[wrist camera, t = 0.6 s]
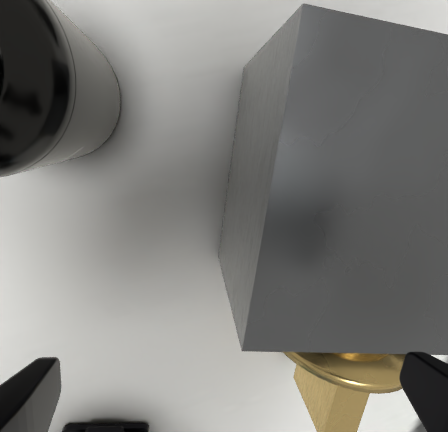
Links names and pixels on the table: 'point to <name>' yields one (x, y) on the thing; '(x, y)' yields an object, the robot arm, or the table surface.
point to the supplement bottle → (50, 88)
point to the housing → (340, 190)
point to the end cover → (343, 385)
